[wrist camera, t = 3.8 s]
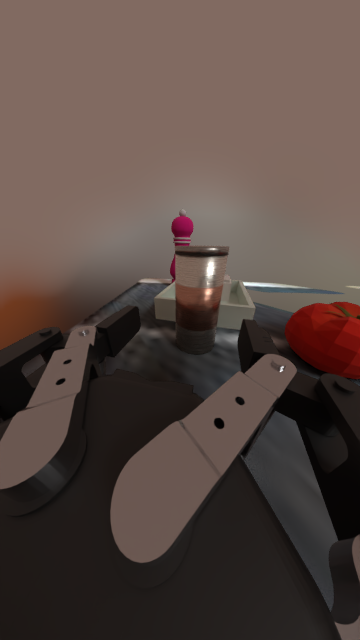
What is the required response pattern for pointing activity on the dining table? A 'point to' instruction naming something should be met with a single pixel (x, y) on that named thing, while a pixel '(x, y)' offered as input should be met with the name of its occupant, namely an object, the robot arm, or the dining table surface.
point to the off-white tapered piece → (226, 288)
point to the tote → (229, 311)
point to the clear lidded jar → (198, 295)
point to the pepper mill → (181, 234)
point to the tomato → (327, 337)
